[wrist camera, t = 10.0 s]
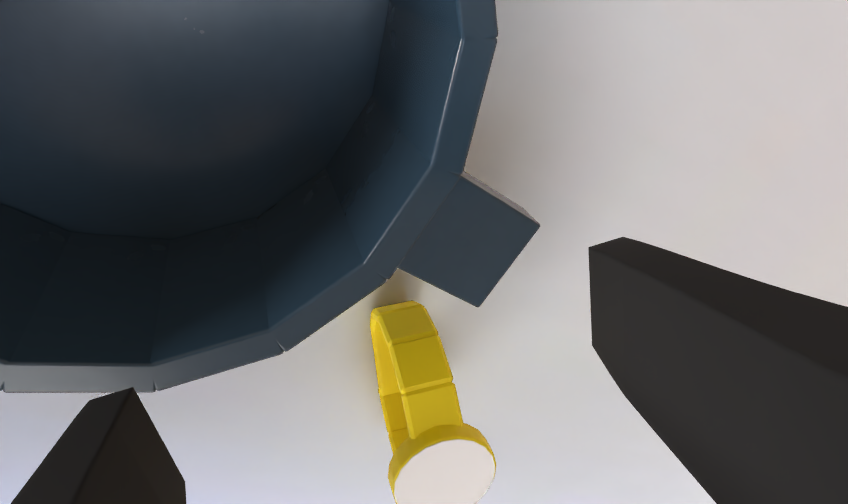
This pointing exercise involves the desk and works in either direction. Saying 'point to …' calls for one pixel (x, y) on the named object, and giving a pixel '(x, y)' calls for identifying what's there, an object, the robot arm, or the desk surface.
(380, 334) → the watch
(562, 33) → the desk surface
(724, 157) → the desk surface
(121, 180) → the pot
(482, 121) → the desk surface
